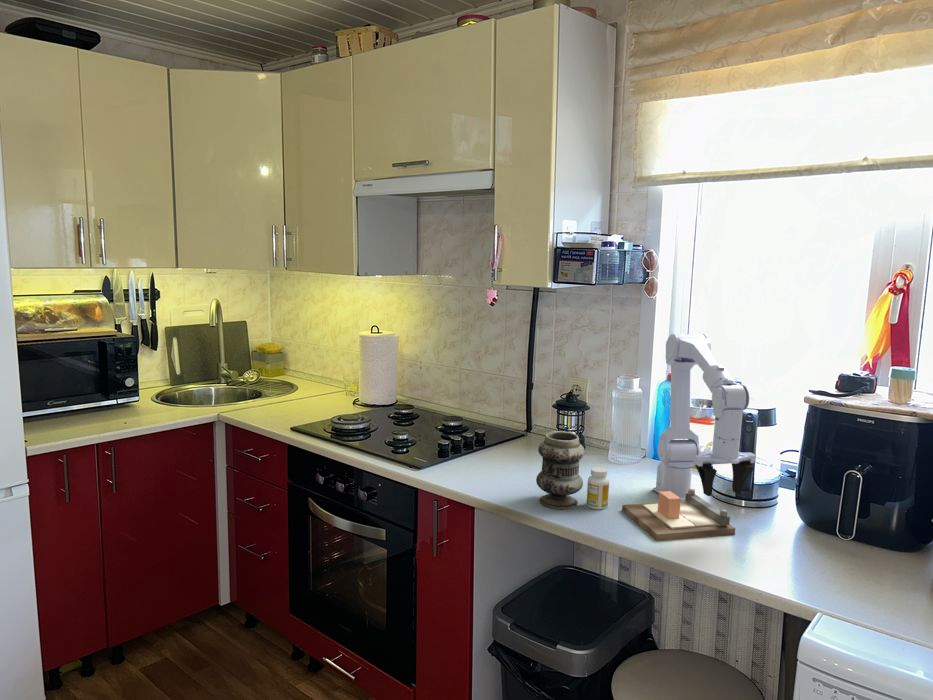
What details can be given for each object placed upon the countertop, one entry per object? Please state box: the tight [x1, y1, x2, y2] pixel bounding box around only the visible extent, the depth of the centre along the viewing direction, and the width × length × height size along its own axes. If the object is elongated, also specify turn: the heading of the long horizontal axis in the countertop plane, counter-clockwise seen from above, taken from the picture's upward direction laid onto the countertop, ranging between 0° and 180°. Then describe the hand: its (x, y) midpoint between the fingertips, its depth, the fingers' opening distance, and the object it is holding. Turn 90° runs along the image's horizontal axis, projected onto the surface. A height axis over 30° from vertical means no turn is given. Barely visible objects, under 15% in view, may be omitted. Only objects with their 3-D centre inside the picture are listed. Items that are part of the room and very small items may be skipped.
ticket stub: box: [643, 491, 695, 529], centre depth 165 cm, size 14×6×5 cm, turn 13°
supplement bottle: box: [586, 466, 610, 510], centre depth 175 cm, size 5×5×10 cm
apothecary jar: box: [535, 430, 586, 510], centre depth 176 cm, size 12×12×18 cm
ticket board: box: [621, 488, 736, 542], centre depth 166 cm, size 18×20×5 cm
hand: (721, 493), depth 158 cm, fingers open, 7 cm apart
